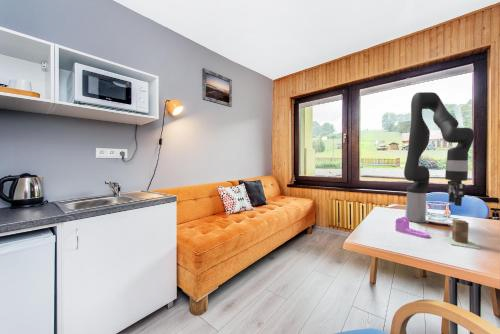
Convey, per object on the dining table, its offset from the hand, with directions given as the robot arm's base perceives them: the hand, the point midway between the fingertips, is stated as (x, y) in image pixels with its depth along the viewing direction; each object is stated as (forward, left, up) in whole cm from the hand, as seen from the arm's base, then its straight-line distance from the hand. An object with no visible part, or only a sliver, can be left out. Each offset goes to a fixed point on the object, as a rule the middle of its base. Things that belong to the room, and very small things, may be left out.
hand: (454, 203), depth 100 cm
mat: (0, -9, -16) cm, 18 cm away
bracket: (-16, -5, -16) cm, 23 cm away
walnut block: (0, -8, -15) cm, 17 cm away
